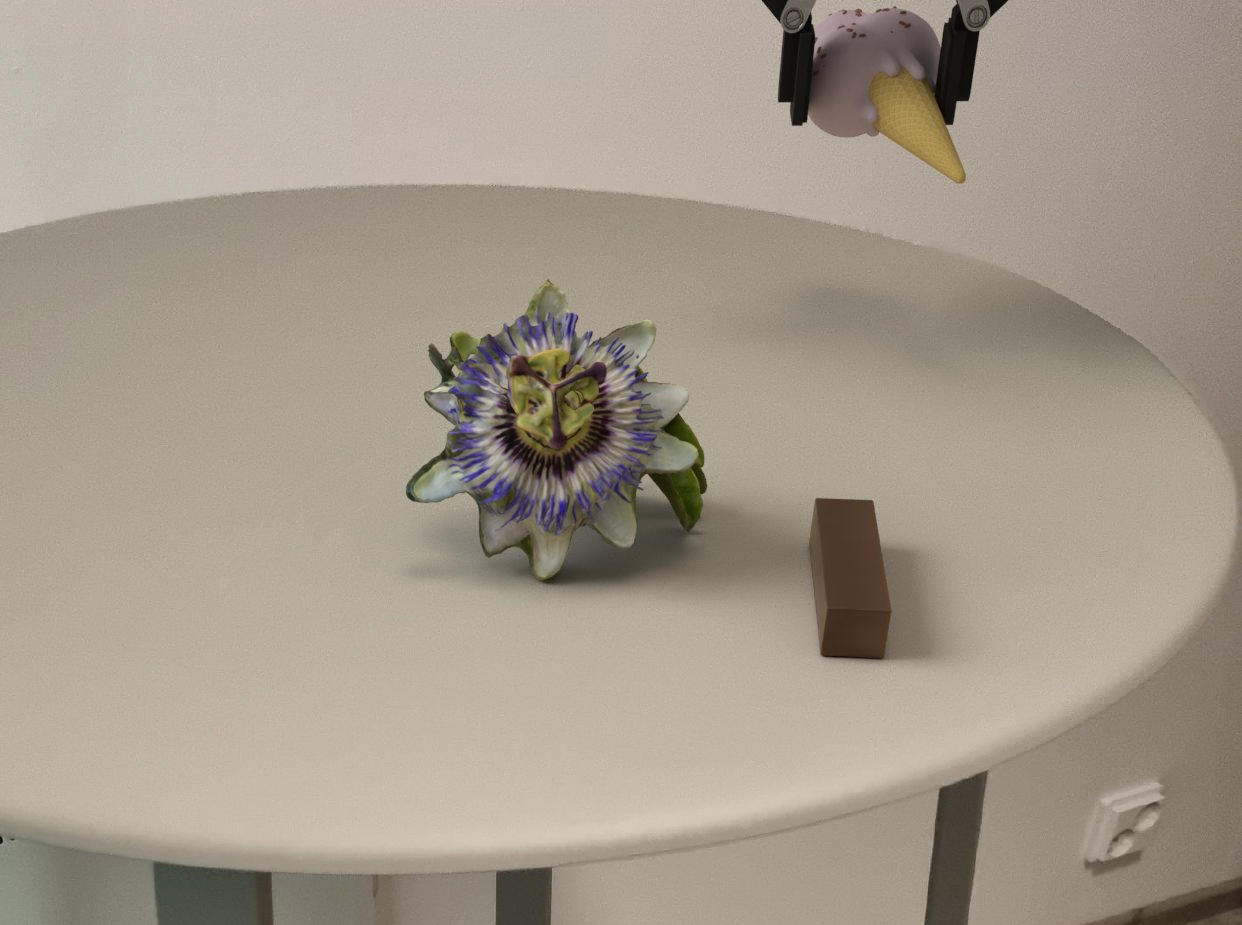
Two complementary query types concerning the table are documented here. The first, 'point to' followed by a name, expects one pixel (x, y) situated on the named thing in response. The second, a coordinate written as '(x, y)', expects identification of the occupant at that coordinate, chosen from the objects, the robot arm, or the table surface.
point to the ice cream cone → (882, 83)
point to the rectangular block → (849, 579)
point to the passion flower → (558, 434)
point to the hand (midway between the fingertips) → (870, 114)
